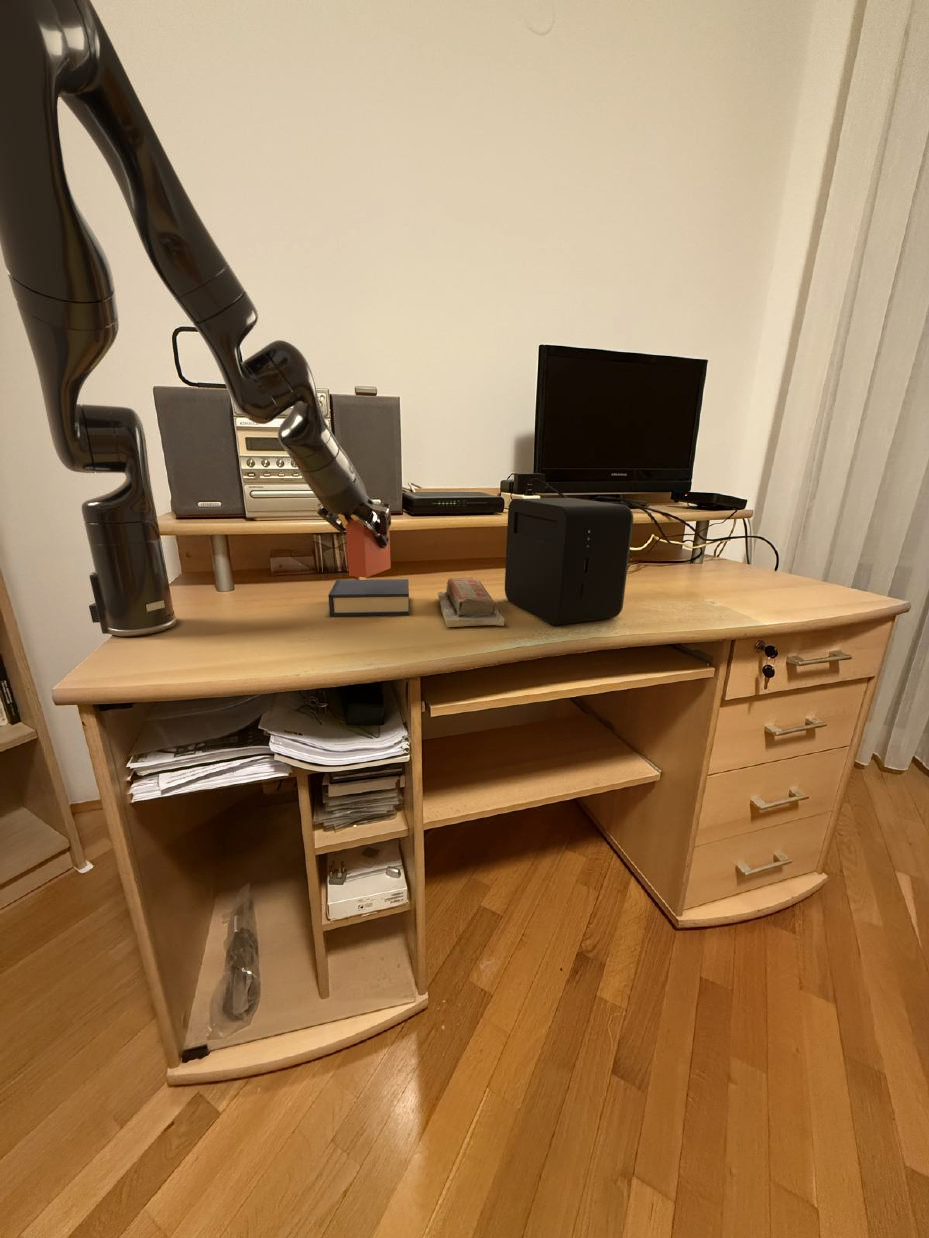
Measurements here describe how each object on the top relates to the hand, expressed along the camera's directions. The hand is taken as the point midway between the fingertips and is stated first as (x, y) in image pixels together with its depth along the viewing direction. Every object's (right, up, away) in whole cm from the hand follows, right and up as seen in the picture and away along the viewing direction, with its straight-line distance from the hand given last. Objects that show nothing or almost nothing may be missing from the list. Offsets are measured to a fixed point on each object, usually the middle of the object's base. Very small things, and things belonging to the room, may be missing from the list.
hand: (375, 543), depth 90 cm
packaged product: (+17, -13, 0) cm, 22 cm away
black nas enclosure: (+35, -12, +3) cm, 37 cm away
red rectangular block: (-1, -5, 0) cm, 5 cm away
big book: (-1, -12, +2) cm, 12 cm away
